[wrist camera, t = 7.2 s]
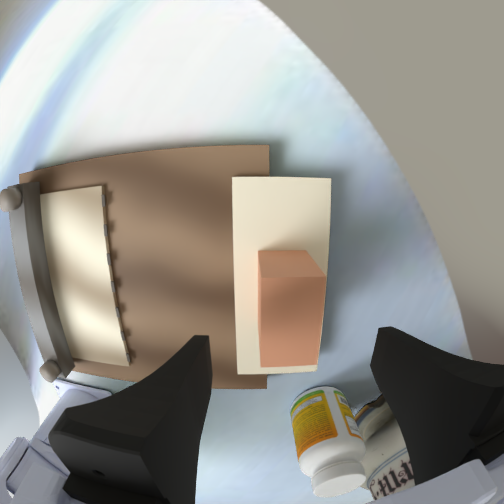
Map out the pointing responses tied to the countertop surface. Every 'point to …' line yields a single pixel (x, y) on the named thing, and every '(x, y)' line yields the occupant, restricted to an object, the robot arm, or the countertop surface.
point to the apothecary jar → (383, 451)
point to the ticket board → (132, 259)
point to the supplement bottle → (328, 441)
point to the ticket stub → (280, 271)
